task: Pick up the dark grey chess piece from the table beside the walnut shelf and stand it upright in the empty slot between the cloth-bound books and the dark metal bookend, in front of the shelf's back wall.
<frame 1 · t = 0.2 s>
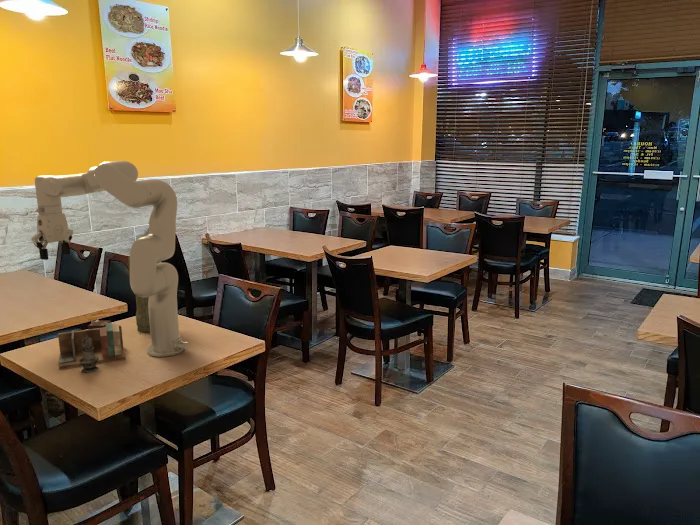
hand: (55, 256, 197), 31 cm above the table, tool pointing down, fingers open, 9 cm apart
bookend: (66, 346, 181), point 5 cm above the table
box: (101, 342, 200), on the table
shelf: (96, 357, 185), on the table
dark grey chess piece: (90, 370, 175), on the table
robed figure statue: (149, 329, 213), on the table
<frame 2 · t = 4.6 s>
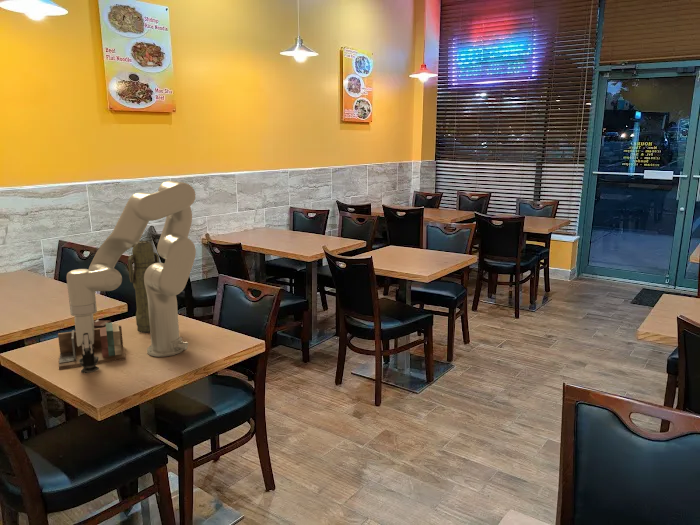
hand: (89, 361, 175), 3 cm above the table, tool pointing down, fingers closed on dark grey chess piece, 5 cm apart
dark grey chess piece: (90, 370, 175), on the table, touching gripper
everything else where it was.
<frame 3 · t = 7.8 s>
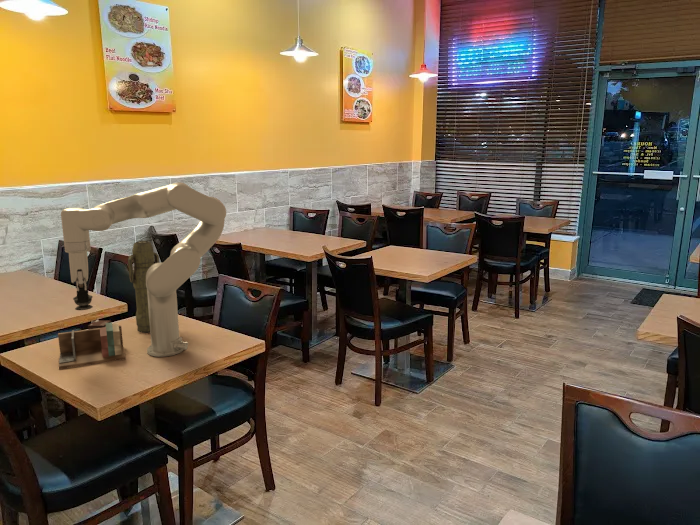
hand: (83, 299, 179), 21 cm above the table, tool pointing down, fingers closed on dark grey chess piece, 5 cm apart
dark grey chess piece: (84, 308, 179), point 18 cm above the table, touching gripper
everything else where it was.
when the fingers open (5 cm above the table, at t = 11.0 s): dark grey chess piece drops 1 cm, resting on shelf.
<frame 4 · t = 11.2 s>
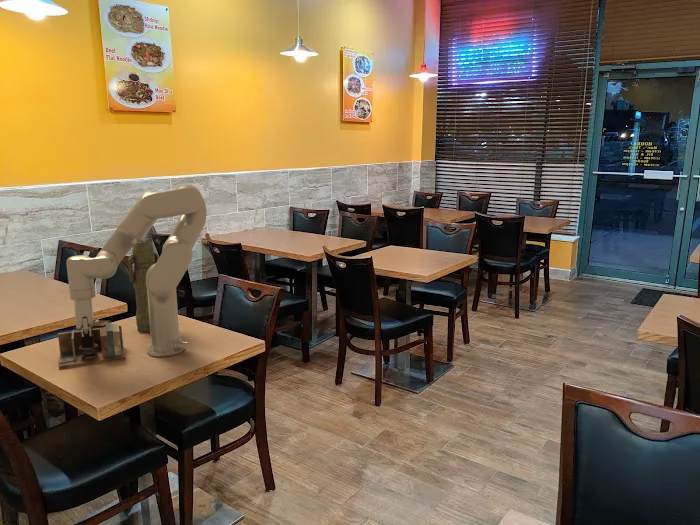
hand: (87, 343, 182), 6 cm above the table, tool pointing down, fingers open, 7 cm apart
dark grey chess piece: (89, 356, 183), point 1 cm above the table, touching shelf
everything else where it was.
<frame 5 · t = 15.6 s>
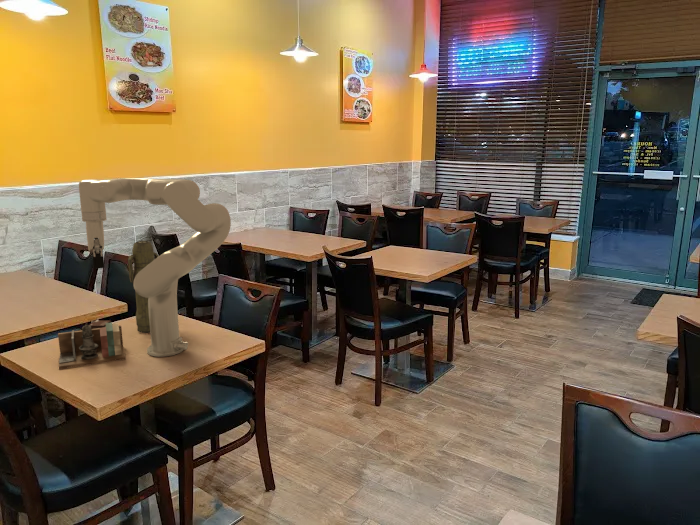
hand: (98, 265, 188), 30 cm above the table, tool pointing down, fingers open, 9 cm apart
nothing on the table moved.
at the end: dark grey chess piece 0.1 cm from the target spot, point 0.8 cm above the table; dark grey chess piece tilted 0°; the gripper is holding nothing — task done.
